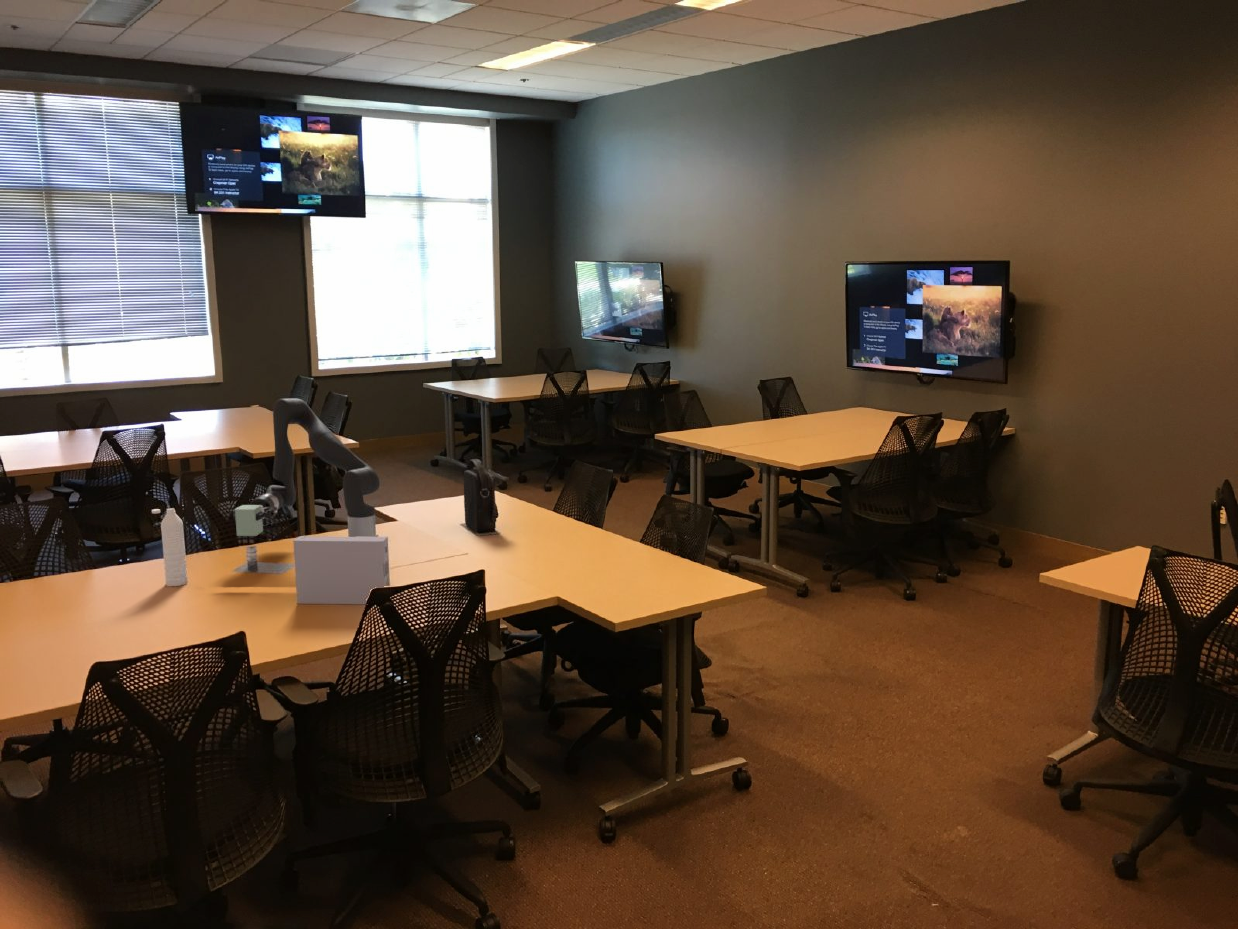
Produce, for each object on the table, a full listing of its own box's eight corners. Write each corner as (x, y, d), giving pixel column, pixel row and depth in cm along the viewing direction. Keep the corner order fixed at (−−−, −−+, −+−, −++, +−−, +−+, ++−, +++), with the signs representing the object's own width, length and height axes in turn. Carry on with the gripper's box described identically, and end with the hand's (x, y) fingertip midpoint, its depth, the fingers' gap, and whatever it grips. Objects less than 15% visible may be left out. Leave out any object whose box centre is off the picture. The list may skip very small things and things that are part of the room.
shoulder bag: (458, 523, 399) (456, 455, 394) (479, 521, 403) (478, 453, 398) (478, 536, 379) (476, 464, 374) (500, 533, 384) (499, 462, 378)
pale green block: (263, 531, 334) (261, 505, 333) (256, 535, 328) (254, 509, 326) (244, 530, 334) (242, 504, 333) (236, 535, 328) (234, 509, 326)
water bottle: (187, 579, 324) (181, 505, 319) (188, 585, 318) (182, 509, 314) (158, 583, 320) (151, 508, 316) (158, 588, 314) (151, 512, 310)
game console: (303, 598, 306) (299, 535, 302) (390, 599, 305) (388, 536, 301) (296, 604, 300) (292, 540, 296) (385, 605, 299) (383, 541, 295)
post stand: (298, 568, 336) (296, 544, 335) (281, 578, 326) (279, 553, 324) (249, 566, 340) (247, 542, 338) (231, 575, 329) (229, 550, 327)
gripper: (243, 495, 343) (223, 506, 327) (284, 495, 343) (267, 506, 327) (244, 516, 345) (225, 528, 328) (285, 516, 345) (268, 528, 328)
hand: (246, 517), depth 328 cm, fingers closed on pale green block, 6 cm apart
